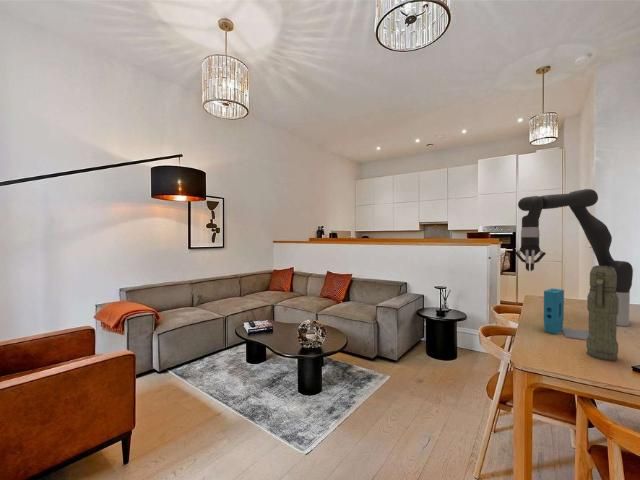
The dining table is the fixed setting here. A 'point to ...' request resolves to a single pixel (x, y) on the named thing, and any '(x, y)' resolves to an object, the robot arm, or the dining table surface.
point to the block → (553, 310)
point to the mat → (575, 333)
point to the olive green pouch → (602, 313)
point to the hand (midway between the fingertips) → (529, 270)
